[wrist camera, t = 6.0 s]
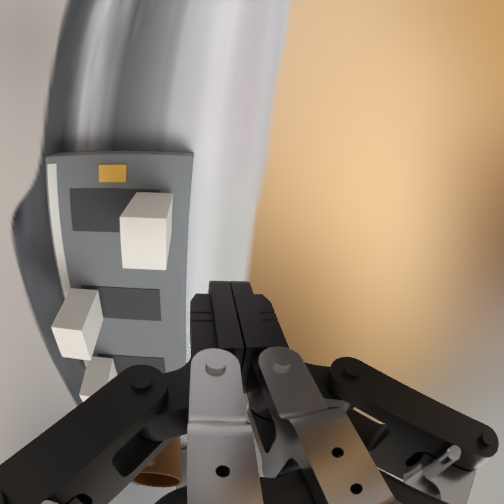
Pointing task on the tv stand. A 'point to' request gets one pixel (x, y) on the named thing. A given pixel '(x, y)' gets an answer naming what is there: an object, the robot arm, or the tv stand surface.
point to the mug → (163, 467)
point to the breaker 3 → (146, 231)
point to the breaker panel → (109, 250)
